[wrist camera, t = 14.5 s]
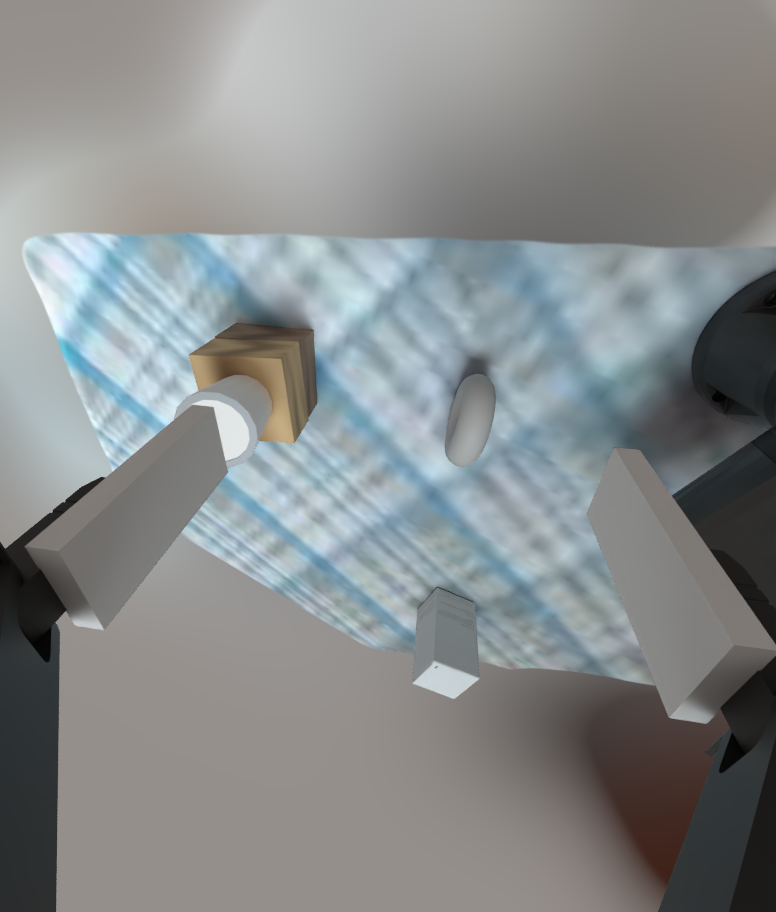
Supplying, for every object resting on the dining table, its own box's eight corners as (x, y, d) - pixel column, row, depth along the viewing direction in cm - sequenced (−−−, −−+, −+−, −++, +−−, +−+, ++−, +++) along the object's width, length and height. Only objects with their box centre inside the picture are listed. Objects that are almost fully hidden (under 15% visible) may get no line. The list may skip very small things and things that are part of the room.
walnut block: (313, 330, 46) (299, 344, 42) (317, 402, 51) (305, 422, 47) (236, 322, 46) (215, 336, 42) (247, 395, 51) (229, 413, 47)
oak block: (298, 341, 41) (281, 358, 37) (308, 420, 46) (294, 443, 42) (214, 338, 42) (188, 355, 38) (232, 415, 47) (212, 437, 43)
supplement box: (416, 609, 70) (409, 683, 60) (437, 585, 66) (434, 661, 56) (453, 625, 71) (453, 701, 61) (476, 602, 67) (481, 679, 57)
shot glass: (248, 354, 38) (219, 376, 31) (293, 414, 40) (274, 446, 34) (193, 390, 39) (154, 417, 33) (239, 445, 42) (211, 481, 36)
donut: (469, 439, 51) (472, 488, 42) (441, 432, 51) (439, 481, 42) (496, 363, 45) (505, 404, 37) (465, 356, 45) (468, 395, 37)
